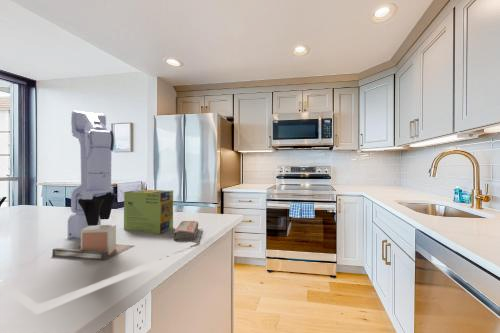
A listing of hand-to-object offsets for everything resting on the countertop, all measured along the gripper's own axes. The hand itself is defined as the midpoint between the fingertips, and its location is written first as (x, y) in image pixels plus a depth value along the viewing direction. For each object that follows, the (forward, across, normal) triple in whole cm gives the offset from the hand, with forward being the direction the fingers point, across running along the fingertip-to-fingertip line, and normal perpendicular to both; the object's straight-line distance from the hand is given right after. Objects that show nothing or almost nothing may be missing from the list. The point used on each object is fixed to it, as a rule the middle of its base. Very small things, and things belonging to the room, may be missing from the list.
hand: (99, 222), depth 69 cm
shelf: (+10, -2, -1) cm, 10 cm away
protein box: (+10, -28, +7) cm, 31 cm away
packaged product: (+10, -16, +22) cm, 29 cm away
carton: (+8, 0, 0) cm, 8 cm away
